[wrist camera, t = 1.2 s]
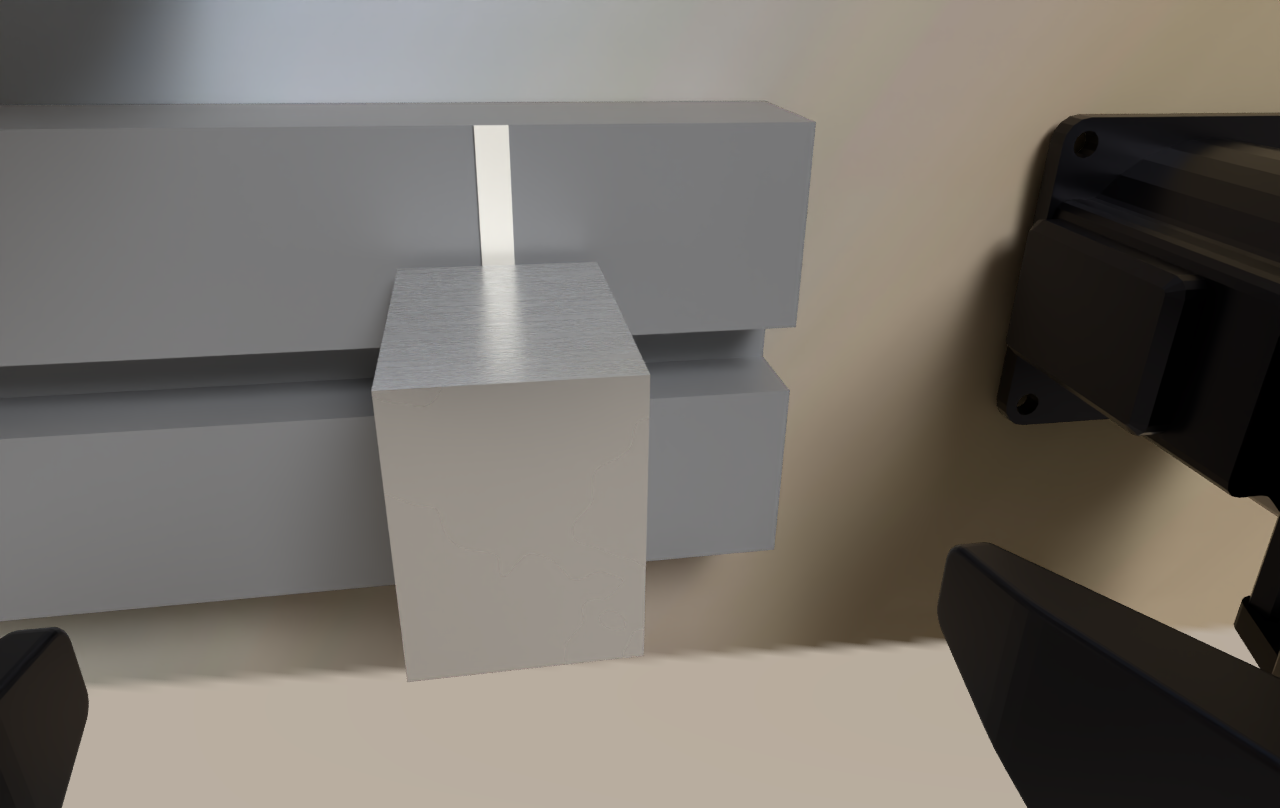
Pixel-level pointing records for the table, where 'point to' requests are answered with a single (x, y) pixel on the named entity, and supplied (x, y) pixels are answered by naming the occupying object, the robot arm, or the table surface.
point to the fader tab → (513, 468)
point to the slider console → (354, 321)
